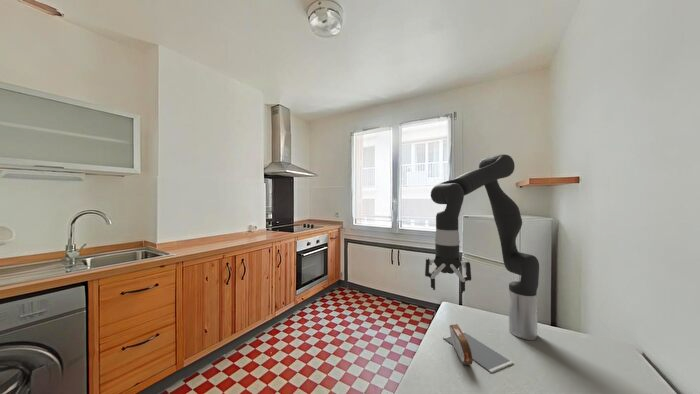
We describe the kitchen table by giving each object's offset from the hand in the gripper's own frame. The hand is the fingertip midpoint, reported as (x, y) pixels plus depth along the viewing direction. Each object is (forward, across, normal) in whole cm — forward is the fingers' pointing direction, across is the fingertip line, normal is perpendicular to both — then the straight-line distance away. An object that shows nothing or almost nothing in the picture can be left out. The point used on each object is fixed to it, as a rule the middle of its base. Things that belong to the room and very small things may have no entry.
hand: (447, 290), depth 78 cm
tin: (+24, -5, -6) cm, 26 cm away
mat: (+25, -10, -11) cm, 29 cm away
